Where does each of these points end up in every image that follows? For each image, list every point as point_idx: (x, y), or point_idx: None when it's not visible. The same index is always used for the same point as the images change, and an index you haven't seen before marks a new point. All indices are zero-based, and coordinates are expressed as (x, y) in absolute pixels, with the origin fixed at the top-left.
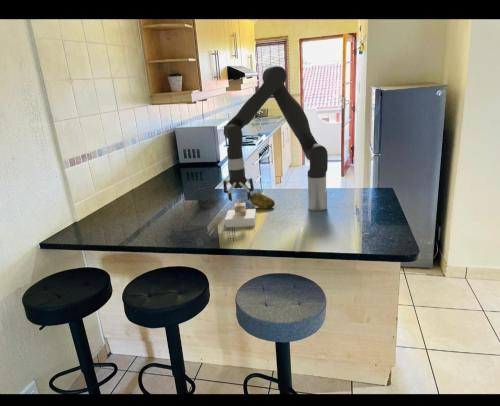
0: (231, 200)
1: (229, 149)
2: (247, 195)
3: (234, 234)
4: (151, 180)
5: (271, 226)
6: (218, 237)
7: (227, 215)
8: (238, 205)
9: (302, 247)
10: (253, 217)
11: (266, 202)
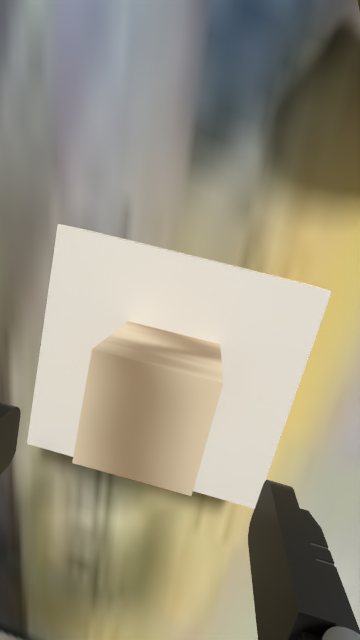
0: (4, 468)
1: None
2: (257, 614)
3: (105, 528)
4: None
5: (352, 510)
6: (18, 529)
7: (48, 364)
8: (121, 454)
9: None
10: (253, 492)
11: None
